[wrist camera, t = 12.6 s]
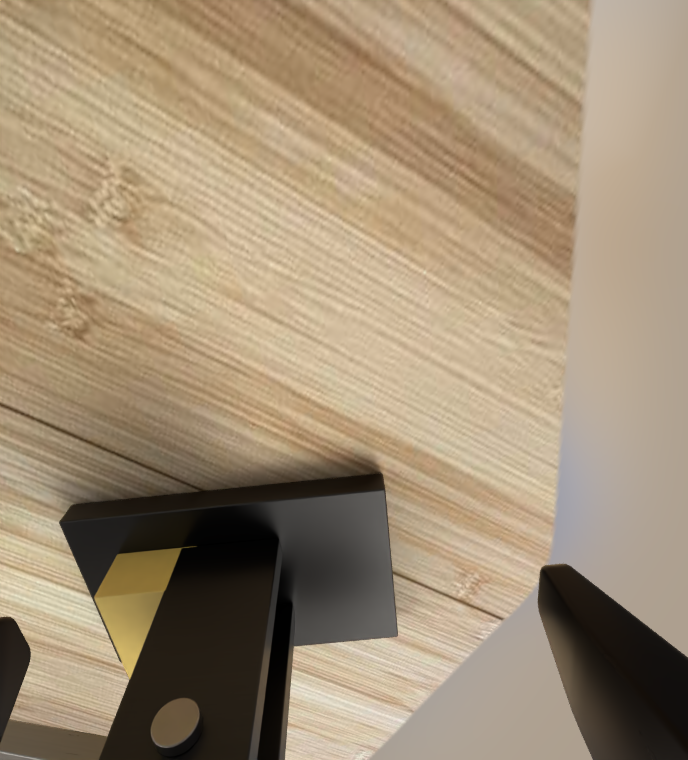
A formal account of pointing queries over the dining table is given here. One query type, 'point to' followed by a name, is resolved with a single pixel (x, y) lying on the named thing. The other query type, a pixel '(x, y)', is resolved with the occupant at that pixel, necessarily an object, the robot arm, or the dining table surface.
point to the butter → (134, 598)
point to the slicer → (238, 605)
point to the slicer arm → (48, 743)
